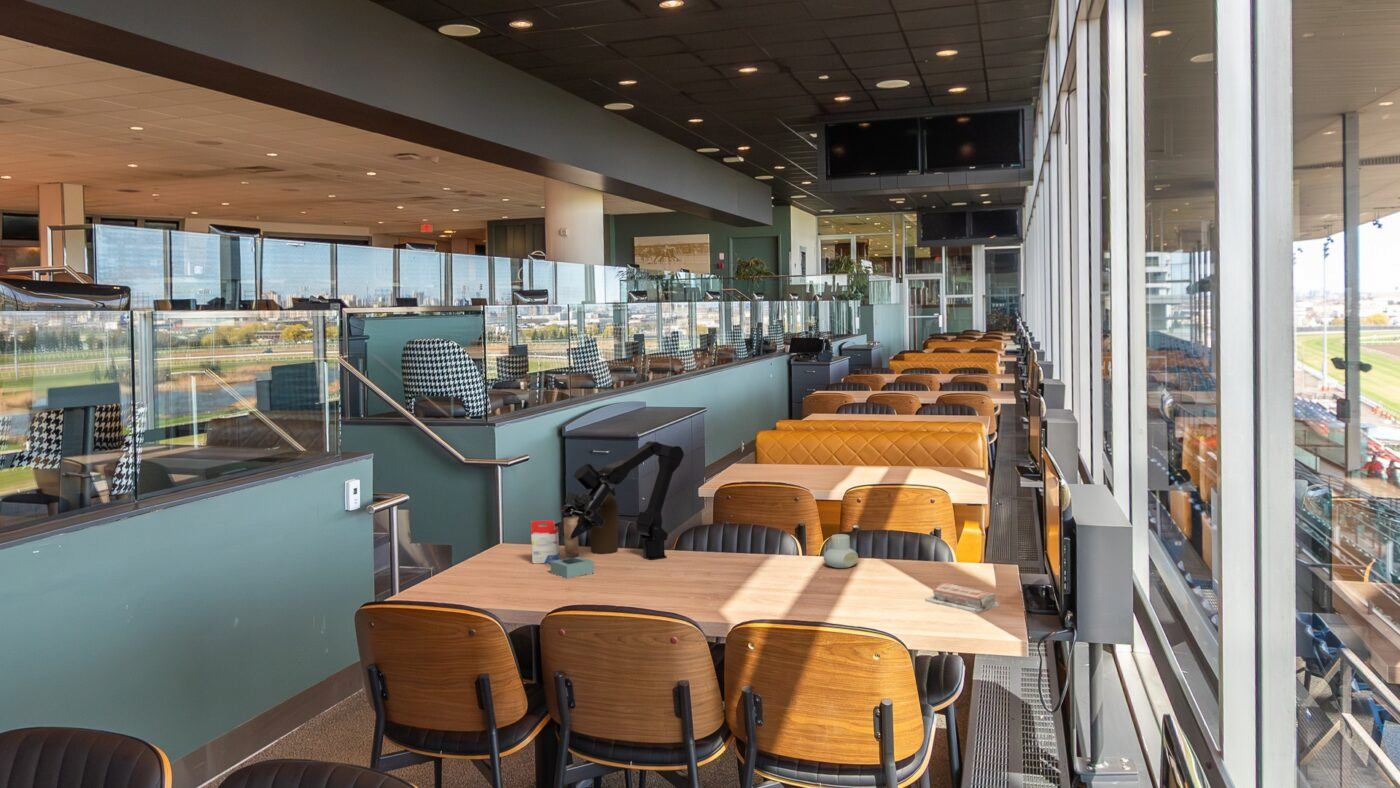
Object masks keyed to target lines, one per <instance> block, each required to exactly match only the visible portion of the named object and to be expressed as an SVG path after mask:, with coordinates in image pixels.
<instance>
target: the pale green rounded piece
mask: <svg viewBox="0 0 1400 788" xmlns="http://www.w3.org/2000/svg"><path fill="white" fill-rule="evenodd" d="M830 537H831V538H830V543H831V544H830V545H831V547H830V548H828V549H827V550H826V551H825V552H824V554H823V560H824V562H825V564H827V565H828V566H829V567H831V568H836V569H849V568H851V567H853V566H855V565H856V564H857V562H858V560H859V555H858V552H856V551H855V550H854V549H853V548H852V547H851V540H850V535H848V534H845V533H837V534H832V535H831V536H830Z"/></svg>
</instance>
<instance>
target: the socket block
mask: <svg viewBox="0 0 1400 788" xmlns="http://www.w3.org/2000/svg"><path fill="white" fill-rule="evenodd" d="M594 563H595V562H594V560H591V559H589V558H588V559H587V558H584V557H581V556H578V557H575V558H566V557H565V558H560V560H554V561H551V564H550V574H551V573H553V574H552V575H554V574H556V575H555V576H557V575H559V576H558V577H560V576H562V577H561V578H564V577H565V578H564V579H567V578H568V579H572V578H571V577H573V578H576V577H575V576H578V577H581V576H580V575H583V576H586V575H585V574H588V575H591V574H590V573H593V574H594V573H595V569H594V568H595V566H594V565H595V564H594Z"/></svg>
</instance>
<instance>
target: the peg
mask: <svg viewBox="0 0 1400 788" xmlns="http://www.w3.org/2000/svg"><path fill="white" fill-rule="evenodd" d="M577 524H578V521H577V517H567V516H566V517H563V532H564V536H563V537H564V538H563V539H564V557H565V558H575V557H580V551H579V550H580V549H579V536H577V537H575V538H573V539H572V538H571V537H570V536H571V534H572V532H573V531H574V529H575V527H576V526H577Z"/></svg>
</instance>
